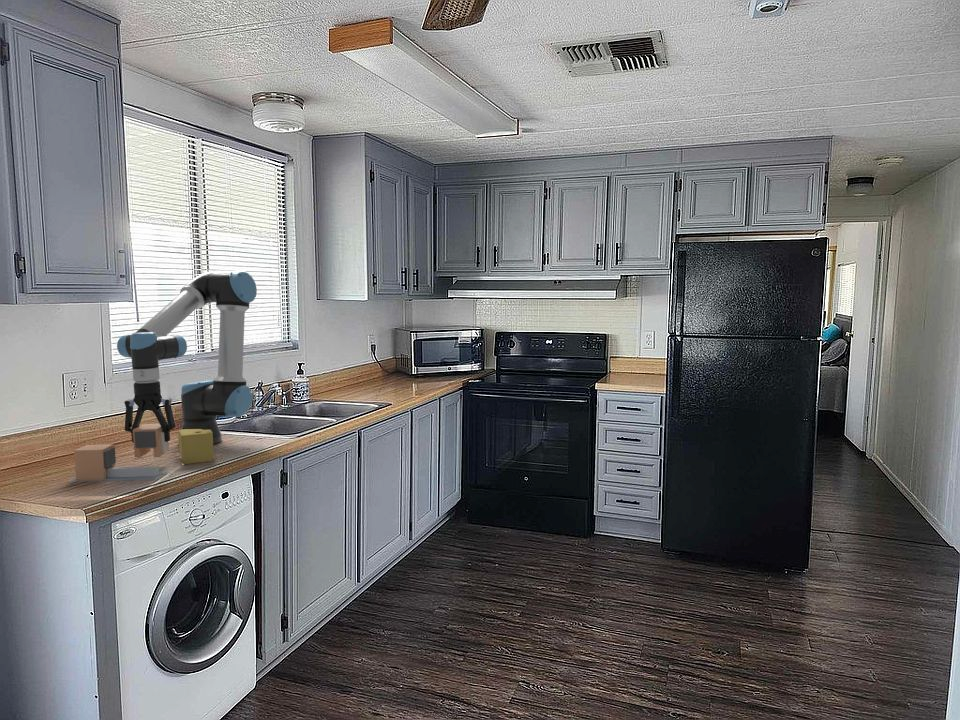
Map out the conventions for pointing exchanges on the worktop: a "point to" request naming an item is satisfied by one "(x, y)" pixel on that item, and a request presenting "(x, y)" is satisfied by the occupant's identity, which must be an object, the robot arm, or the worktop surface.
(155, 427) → the block
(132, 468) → the rail
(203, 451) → the cheese
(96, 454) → the block
